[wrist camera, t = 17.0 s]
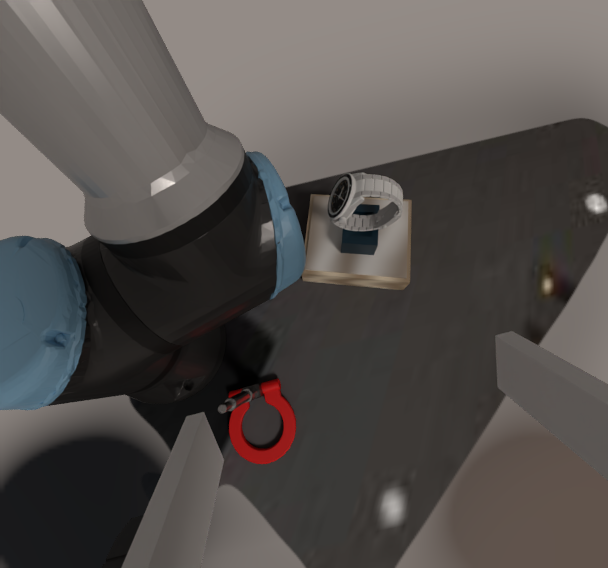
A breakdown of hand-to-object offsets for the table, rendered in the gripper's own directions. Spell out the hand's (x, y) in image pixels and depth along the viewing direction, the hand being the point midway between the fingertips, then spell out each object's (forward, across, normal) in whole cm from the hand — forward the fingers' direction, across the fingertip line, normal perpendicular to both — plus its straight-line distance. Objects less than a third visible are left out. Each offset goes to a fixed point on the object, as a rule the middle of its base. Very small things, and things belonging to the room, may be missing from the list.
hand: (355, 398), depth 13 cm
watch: (+27, +8, +2) cm, 29 cm away
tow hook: (+20, -10, -17) cm, 28 cm away
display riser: (+31, +8, 0) cm, 32 cm away
